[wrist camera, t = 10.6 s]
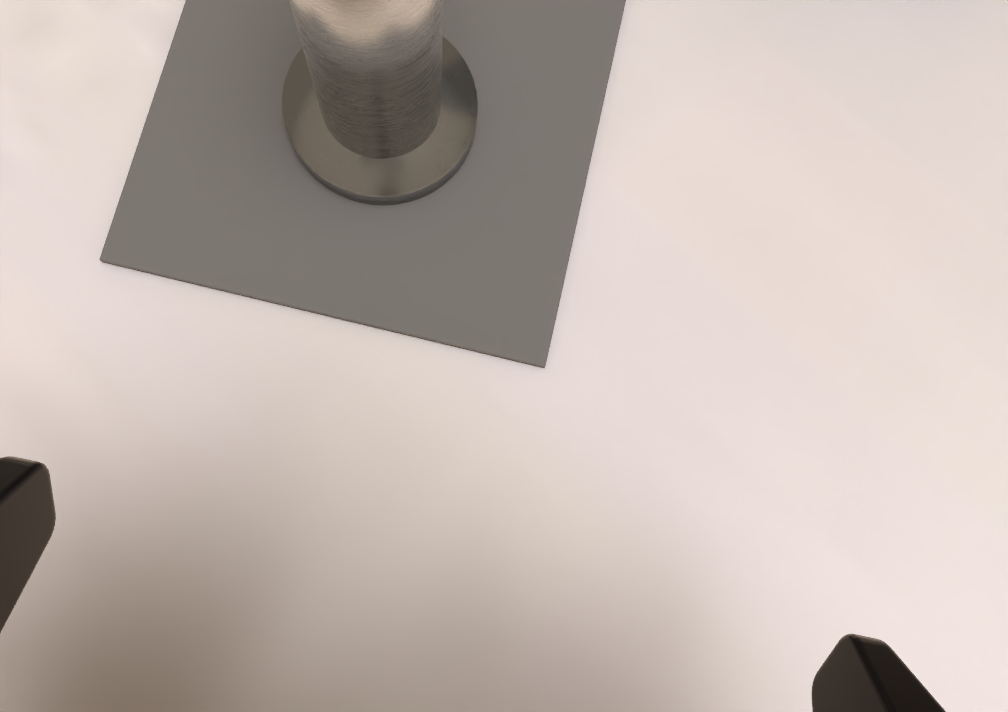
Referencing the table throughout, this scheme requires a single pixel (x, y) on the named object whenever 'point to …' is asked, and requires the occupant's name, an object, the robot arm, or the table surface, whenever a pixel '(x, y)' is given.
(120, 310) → the table surface
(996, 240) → the table surface
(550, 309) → the mat
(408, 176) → the flanged metal post
